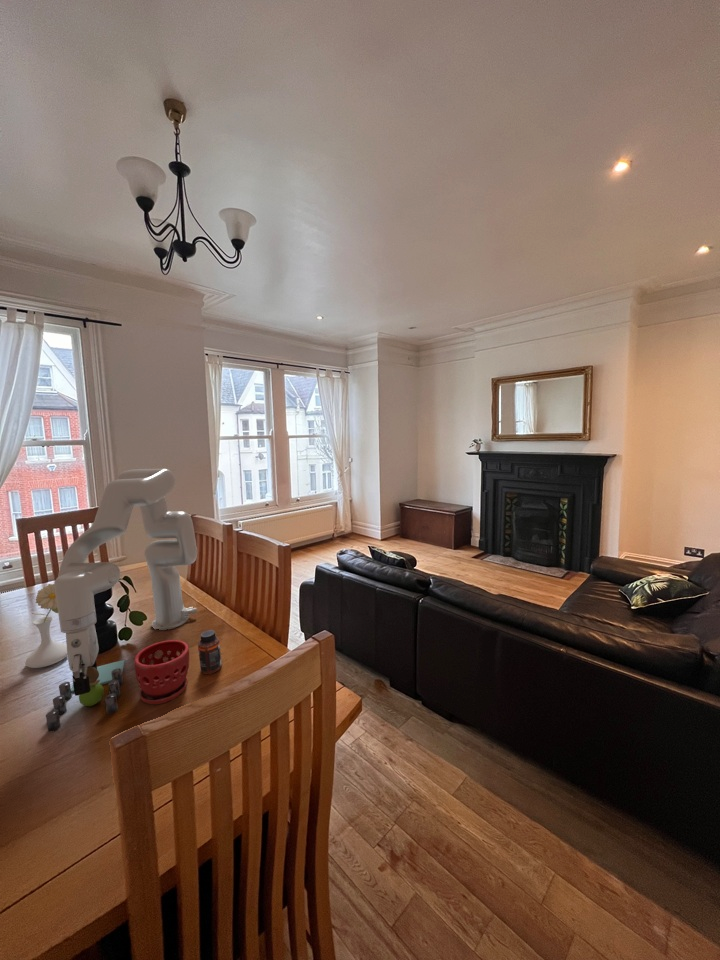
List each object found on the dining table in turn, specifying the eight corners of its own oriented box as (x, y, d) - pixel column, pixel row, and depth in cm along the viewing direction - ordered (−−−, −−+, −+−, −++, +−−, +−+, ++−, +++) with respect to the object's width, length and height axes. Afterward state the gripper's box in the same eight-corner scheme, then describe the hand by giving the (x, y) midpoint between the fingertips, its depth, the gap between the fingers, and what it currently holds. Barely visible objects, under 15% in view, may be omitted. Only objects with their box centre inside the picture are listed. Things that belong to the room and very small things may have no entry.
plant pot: (157, 716, 96) (151, 672, 95) (129, 698, 103) (123, 657, 102) (202, 685, 107) (198, 645, 106) (174, 671, 114) (170, 634, 113)
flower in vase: (20, 676, 115) (7, 597, 112) (32, 657, 125) (19, 584, 122) (74, 662, 121) (62, 587, 118) (80, 645, 131) (70, 575, 128)
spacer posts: (123, 680, 111) (121, 667, 111) (117, 712, 98) (115, 697, 98) (62, 697, 105) (60, 683, 104) (47, 733, 92) (44, 718, 92)
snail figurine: (84, 697, 104) (78, 656, 103) (109, 695, 105) (103, 654, 103) (71, 712, 99) (64, 669, 97) (97, 709, 99) (91, 666, 98)
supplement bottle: (226, 664, 117) (222, 629, 115) (212, 676, 111) (209, 640, 110) (210, 661, 119) (206, 626, 117) (196, 673, 113) (192, 637, 111)
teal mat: (124, 661, 120) (124, 659, 120) (120, 679, 112) (120, 677, 111) (78, 673, 115) (77, 671, 115) (70, 693, 106) (70, 691, 106)
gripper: (89, 631, 92) (98, 697, 94) (101, 604, 108) (108, 661, 110) (50, 639, 89) (60, 707, 91) (68, 610, 105) (76, 669, 107)
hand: (86, 682), depth 101 cm, fingers open, 9 cm apart
